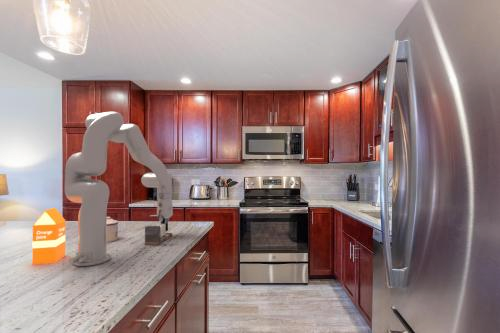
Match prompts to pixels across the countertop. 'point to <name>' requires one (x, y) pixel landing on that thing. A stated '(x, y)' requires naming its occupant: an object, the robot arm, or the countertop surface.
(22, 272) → the countertop surface
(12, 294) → the countertop surface
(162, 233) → the gauge slider
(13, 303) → the countertop surface
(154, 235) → the gauge base
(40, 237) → the orange juice
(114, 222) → the teacup with lid
